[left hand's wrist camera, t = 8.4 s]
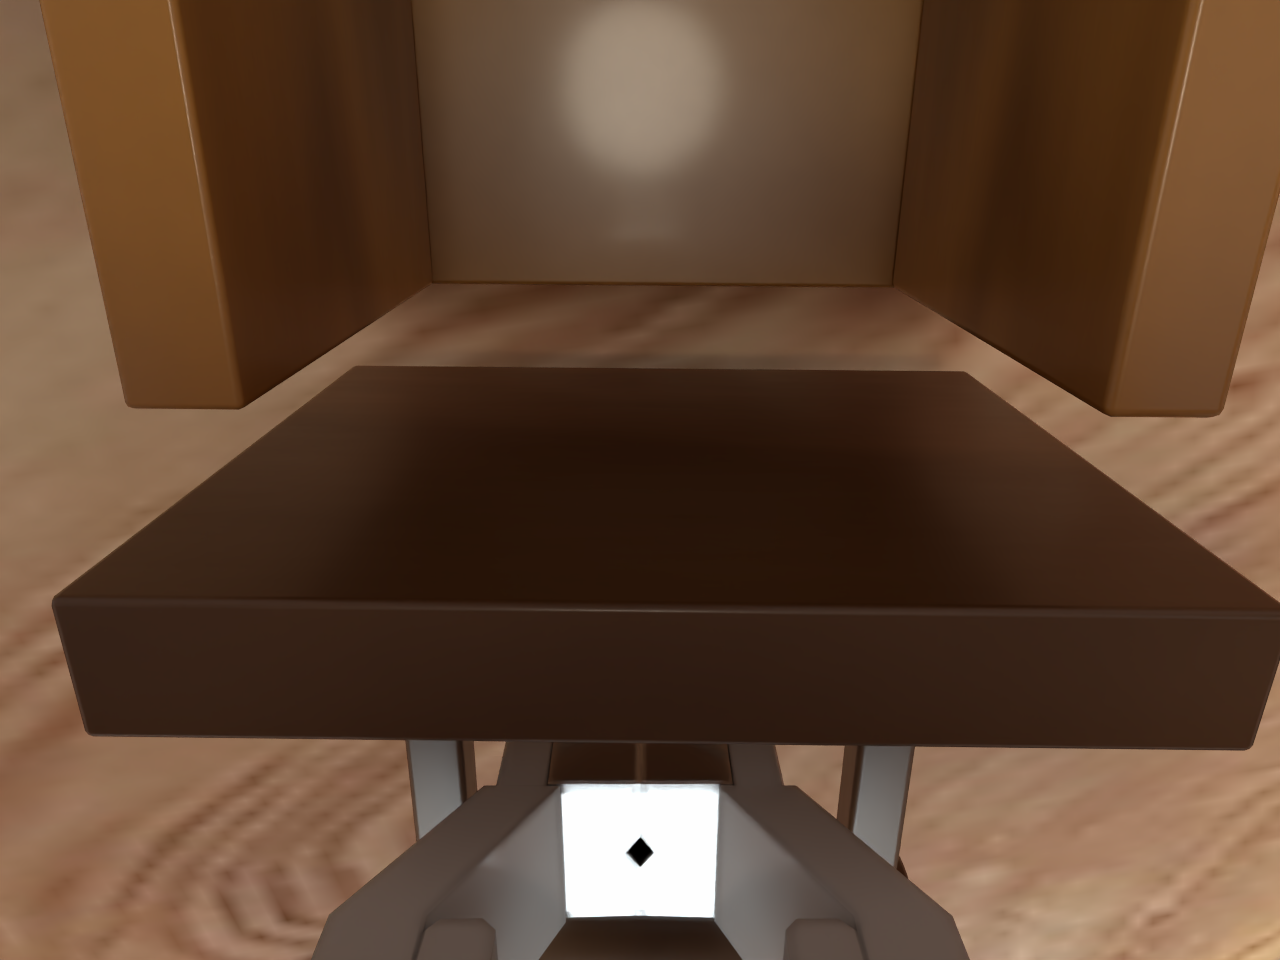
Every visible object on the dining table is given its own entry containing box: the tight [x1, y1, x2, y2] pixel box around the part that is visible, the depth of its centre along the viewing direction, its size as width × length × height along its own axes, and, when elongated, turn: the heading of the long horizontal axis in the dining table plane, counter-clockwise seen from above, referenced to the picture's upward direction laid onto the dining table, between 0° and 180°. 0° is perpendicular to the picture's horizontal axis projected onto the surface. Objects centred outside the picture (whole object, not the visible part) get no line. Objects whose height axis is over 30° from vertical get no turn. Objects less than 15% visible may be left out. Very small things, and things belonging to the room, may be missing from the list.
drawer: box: [39, 0, 1280, 960], centre depth 8 cm, size 21×9×7 cm, turn 0°
